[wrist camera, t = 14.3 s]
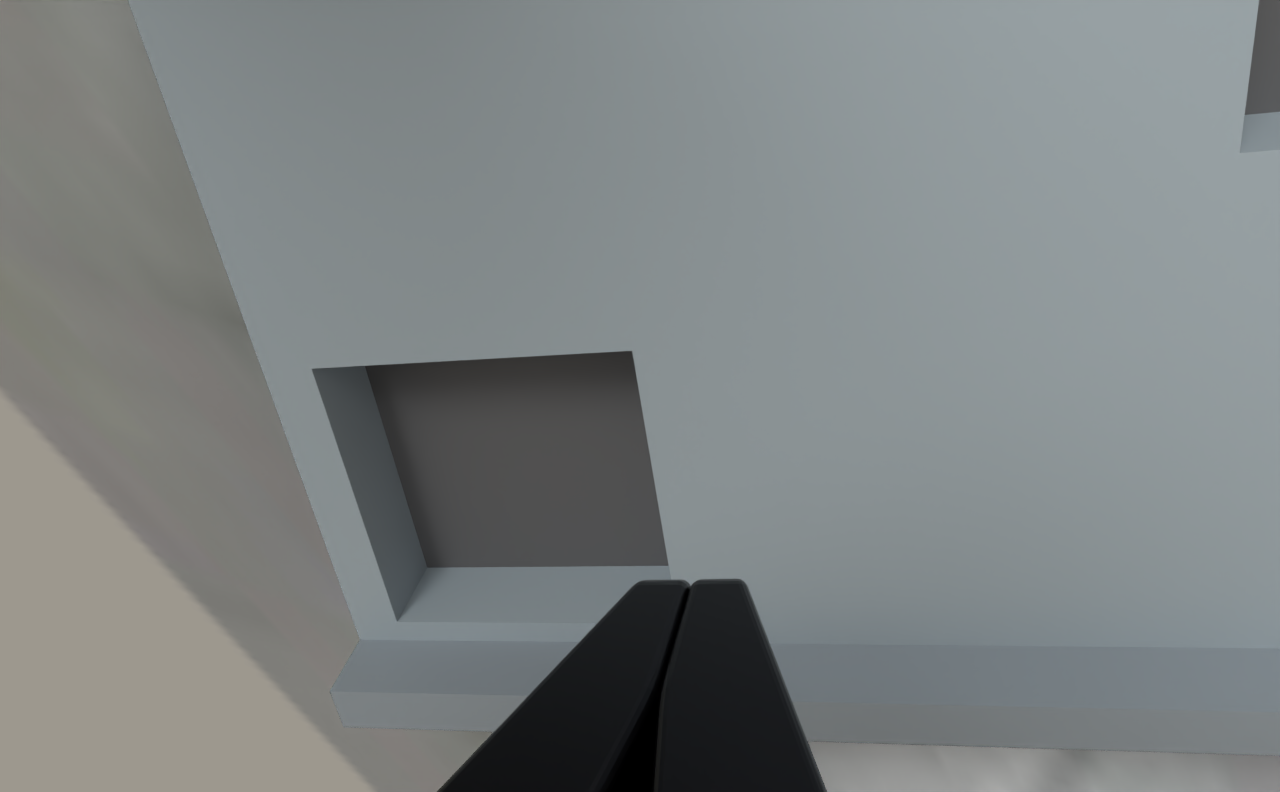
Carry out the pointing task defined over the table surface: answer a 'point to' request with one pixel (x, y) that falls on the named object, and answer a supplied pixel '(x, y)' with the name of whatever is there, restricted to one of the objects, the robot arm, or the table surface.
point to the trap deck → (773, 341)
